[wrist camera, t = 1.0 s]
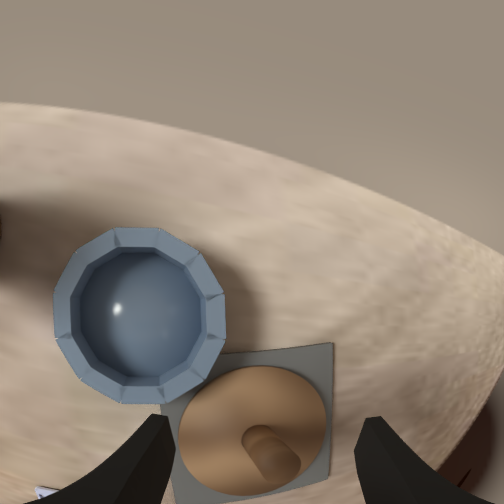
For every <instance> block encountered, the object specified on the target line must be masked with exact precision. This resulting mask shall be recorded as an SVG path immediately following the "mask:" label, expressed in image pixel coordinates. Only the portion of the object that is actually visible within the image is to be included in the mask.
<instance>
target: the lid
mask: <svg viewBox="0 0 504 504" xmlns="http://www.w3.org/2000/svg"><path fill="white" fill-rule="evenodd" d="M325 432H326V413H325V408H324V405H323V402H322V400H321V398H320V396H319V394H318V393H317V392H316V390H315V389H314V388H313V387H312V386H311V385H310V384H309V383H308V382H307V381H306V380H304V379H303V378H302V377H300V376H298V375H296V374H294V373H292V372H290V371H288V370H285V369H282V368H279V367H274V366H266V365H253V366H246V367H241V368H237V369H234V370H231V371H228V372H226V373H223V374H221V375H219V376H218V377H216V378H214V379H212V380H211V381H209V382H208V383H207V384H205V385H204V386H203V387H202V388H201V389H200V390H199V391H198V392H196V394H195V395H194V396H193V397H192V398H191V400H190V401H189V403H188V404H187V406H186V408H185V409H184V412H183V414H182V416H181V419H180V423H179V428H178V444H179V449H180V454H181V457H182V460H183V462H184V464H185V466H186V467H187V469H188V471H189V472H190V473H191V474H192V475H193V476H194V477H195V478H196V479H197V480H198V481H199V482H200V483H202V484H203V485H205V486H206V487H208V488H210V489H212V490H215V491H217V492H220V493H224V494H228V495H235V496H252V495H259V494H263V493H267V492H270V491H273V490H276V489H278V488H280V487H282V486H285V485H286V484H288V483H290V482H291V481H293V480H294V479H295V478H297V477H298V476H299V475H301V474H302V473H303V472H304V471H305V470H306V469H307V468H308V466H309V465H310V464H311V463H312V462H313V460H314V459H315V457H316V456H317V454H318V452H319V450H320V448H321V446H322V443H323V440H324V436H325Z"/></svg>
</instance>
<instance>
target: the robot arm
mask: <svg viewBox="0 0 504 504" xmlns="http://www.w3.org/2000/svg"><path fill="white" fill-rule="evenodd" d="M175 452H176V446H175V442H174V439H173V435H172V431H171V427H170V423H169V419H168V416H164V415H158V414H151V415H150V416H149V417H148V418H147V419H146V420H145V422H144V423H143V424H142V425H141V426H140V427H139V428H138V429H137V430H136V431H135V433H134V434H133V435H132V436H131V437H130V438H129V439H128V440H127V441H126V442H125V443H124V444H123V445H122V446H121V447H120V448H119V449H118V450H117V451H115V452H114V453H113V454H112V455H111V456H110V457H109V458H107V459H106V460H105V461H104V462H103V463H102V464H100V465H99V466H98V467H96V468H95V469H94V470H92V471H91V472H90V473H88V474H87V475H85V476H84V477H82V478H81V479H79V480H77V481H76V482H74V483H72V484H71V485H69V486H67V487H65V488H63V489H61V490H54V489H49V488H44V487H40V486H37V487H36V488H35V492H36V494H37V496H38V500H35V501H31V502H28V503H24V504H161V501H162V498H163V495H164V492H165V489H166V487H167V484H168V481H169V478H170V475H171V472H172V467H173V463H174V457H175ZM354 455H355V462H356V469H357V474H358V478H359V481H360V485H361V488H362V492H363V495H364V499H365V502H366V504H494V503H491V502H488V501H486V500H483V499H481V498H478V497H476V496H474V495H472V494H470V493H468V492H466V491H464V490H462V489H461V488H459V487H457V486H456V485H454V484H452V483H451V482H449V481H448V480H447V479H445V478H444V477H442V476H441V475H439V474H438V473H437V472H436V471H434V470H433V469H432V468H431V467H430V466H429V465H427V464H426V463H425V462H424V461H423V460H422V459H421V458H420V457H419V456H418V455H417V454H416V453H415V452H414V451H413V450H412V449H411V448H410V447H409V446H408V445H407V444H406V443H405V442H404V441H403V440H402V439H401V438H400V437H399V436H398V435H397V434H396V432H395V431H394V430H393V429H392V428H391V427H390V426H389V425H388V424H387V422H386V421H385V420H384V419H383V418H382V417H381V416H379V417H371V418H366V419H365V422H364V425H363V428H362V430H361V433H360V436H359V438H358V441H357V444H356V446H355V449H354ZM42 495H43V496H42Z"/></svg>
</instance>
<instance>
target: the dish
mask: <svg viewBox="0 0 504 504" xmlns="http://www.w3.org/2000/svg"><path fill="white" fill-rule="evenodd" d="M76 252H77V253H76ZM76 252H74V253H73V255H72V256H71V258H70V260H69V262H68V264H67V266H66V267H65V269H64V271H63V273H62V275H61V277H60V279H59V281H58V283H57V285H56V287H55V289H54V291H55V292H56V293H53V315H54V334H55V338H58V339H56V342H57V344H58V346H59V347H60V349H61V351H62V352H63V354H64V356H65V358H66V359H67V361H68V363H69V364H70V366H71V367H72V369H73V371H74V372H75V374H76V375H77V377H78V378H79V379H80V378H82V379H81V381H82V382H83V383H85V384H87V385H88V386H90V387H92V388H93V389H95V390H97V391H99V392H100V393H102V394H104V395H105V396H107V397H109V398H111V399H113V400H115V401H116V402H118V403H120V401H121V403H122V404H165V401H166V402H167V403H169V402H170V401H172V400H174V399H175V398H177V397H179V396H180V395H182V394H184V393H185V392H187V391H189V390H190V389H192V388H194V387H195V386H197V385H198V384H200V383H202V382H203V381H204V380H203V378H204V379H206V378H207V376H208V374H209V372H210V370H211V368H212V366H213V364H214V362H215V361H216V359H217V357H218V355H219V353H220V351H221V349H222V347H223V345H224V343H225V340H223V339H226V319H225V294H222V293H223V292H224V291H223V290H222V288H221V286H220V285H219V283H218V281H217V279H216V278H215V276H214V274H213V273H212V271H211V269H210V268H209V266H208V264H207V263H206V261H205V259H204V257H203V256H202V254H201V253H200V254H199V255H198V253H199V251H198V250H196V249H194V248H193V247H191V246H189V245H188V244H186V243H184V242H182V241H181V240H179V239H177V238H176V237H174V236H172V235H171V234H169V233H167V232H166V231H164V230H162V229H160V231H159V228H122V227H115V231H114V229H113V228H112V229H110V230H109V231H107V232H105V233H103V234H102V235H100V236H98V237H97V238H95V239H93V240H91V241H90V242H88V243H86V244H85V245H83V246H81V247H80V248H78V249H77V250H76Z"/></svg>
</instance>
